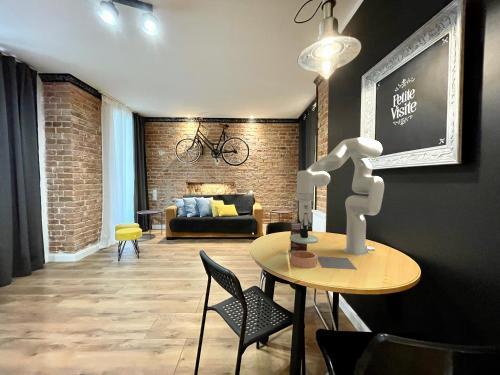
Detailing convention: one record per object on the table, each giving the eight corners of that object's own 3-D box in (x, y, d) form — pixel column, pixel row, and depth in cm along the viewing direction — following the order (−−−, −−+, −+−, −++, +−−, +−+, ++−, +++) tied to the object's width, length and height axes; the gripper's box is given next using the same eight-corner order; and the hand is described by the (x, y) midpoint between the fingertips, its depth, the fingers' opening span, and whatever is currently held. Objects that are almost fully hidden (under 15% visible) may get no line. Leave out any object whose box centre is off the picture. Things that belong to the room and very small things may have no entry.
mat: (347, 259, 116) (347, 257, 116) (357, 271, 101) (357, 269, 101) (316, 258, 118) (316, 256, 118) (322, 269, 103) (322, 267, 103)
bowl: (314, 261, 114) (315, 251, 113) (319, 270, 102) (319, 259, 101) (290, 260, 115) (290, 250, 115) (291, 269, 103) (291, 258, 103)
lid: (315, 237, 114) (316, 224, 113) (320, 244, 101) (321, 230, 100) (288, 235, 115) (289, 223, 115) (290, 242, 102) (290, 228, 102)
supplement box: (290, 254, 123) (291, 225, 123) (290, 251, 128) (290, 223, 128) (307, 255, 122) (307, 225, 122) (306, 252, 127) (306, 223, 127)
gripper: (315, 199, 99) (314, 241, 99) (310, 196, 115) (309, 233, 115) (298, 198, 100) (297, 240, 100) (295, 196, 116) (294, 232, 116)
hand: (303, 236), depth 108 cm, fingers closed on lid, 2 cm apart
